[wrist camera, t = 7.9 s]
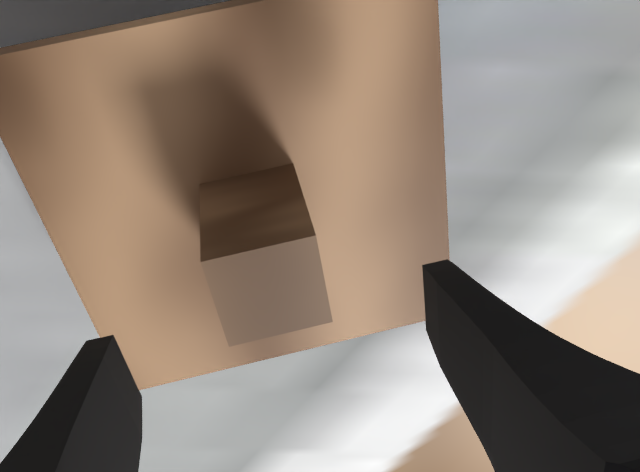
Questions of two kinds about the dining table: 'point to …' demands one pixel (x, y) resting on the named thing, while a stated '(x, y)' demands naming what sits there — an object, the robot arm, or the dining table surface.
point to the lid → (237, 174)
